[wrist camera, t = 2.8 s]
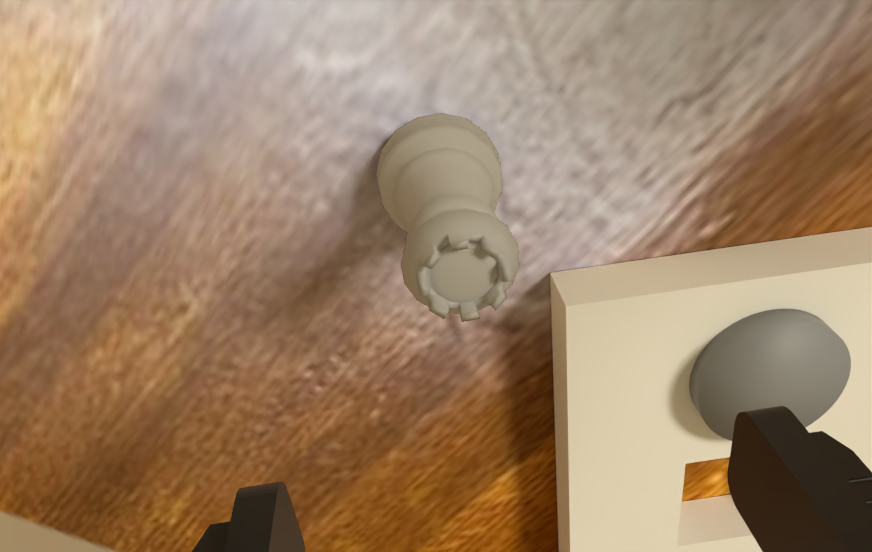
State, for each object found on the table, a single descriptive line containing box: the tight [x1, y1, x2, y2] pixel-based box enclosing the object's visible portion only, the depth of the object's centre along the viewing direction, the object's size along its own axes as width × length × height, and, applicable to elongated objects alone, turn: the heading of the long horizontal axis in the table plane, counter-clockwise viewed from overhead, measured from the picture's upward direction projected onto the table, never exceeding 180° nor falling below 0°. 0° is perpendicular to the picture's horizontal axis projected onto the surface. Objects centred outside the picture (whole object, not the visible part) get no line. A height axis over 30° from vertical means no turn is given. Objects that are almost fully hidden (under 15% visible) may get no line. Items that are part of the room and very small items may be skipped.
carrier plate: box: [550, 227, 872, 552], centre depth 30 cm, size 18×16×4 cm
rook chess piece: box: [376, 113, 520, 322], centre depth 21 cm, size 4×4×8 cm
